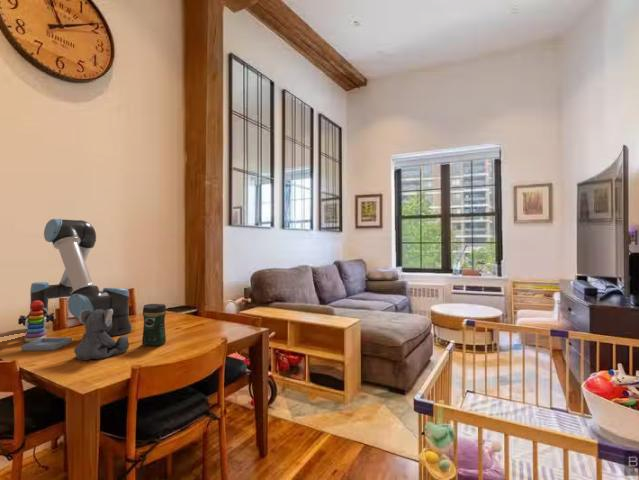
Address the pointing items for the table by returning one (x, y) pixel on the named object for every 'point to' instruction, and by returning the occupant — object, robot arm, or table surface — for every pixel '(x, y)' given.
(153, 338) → the coffee jar
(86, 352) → the koala plush
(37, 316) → the stacking toy
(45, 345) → the tray
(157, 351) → the table surface
